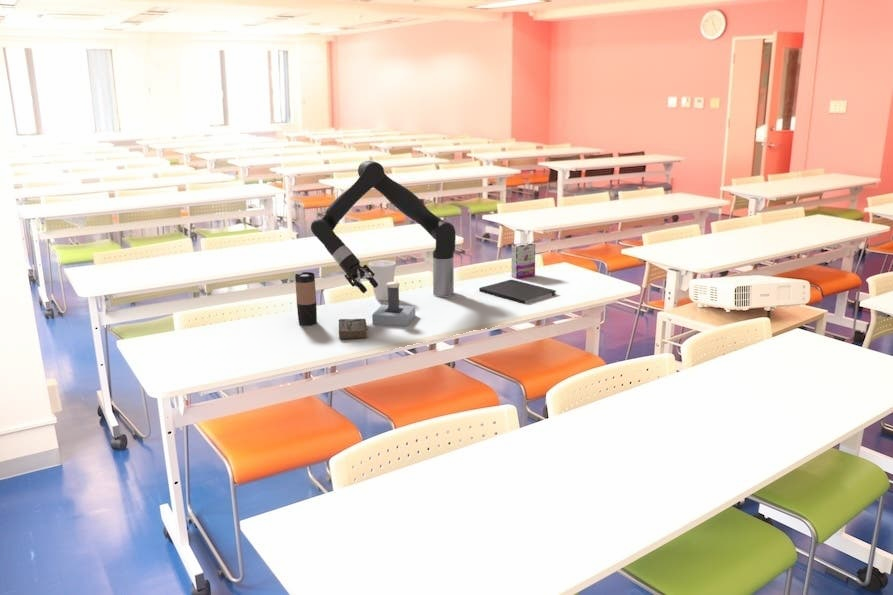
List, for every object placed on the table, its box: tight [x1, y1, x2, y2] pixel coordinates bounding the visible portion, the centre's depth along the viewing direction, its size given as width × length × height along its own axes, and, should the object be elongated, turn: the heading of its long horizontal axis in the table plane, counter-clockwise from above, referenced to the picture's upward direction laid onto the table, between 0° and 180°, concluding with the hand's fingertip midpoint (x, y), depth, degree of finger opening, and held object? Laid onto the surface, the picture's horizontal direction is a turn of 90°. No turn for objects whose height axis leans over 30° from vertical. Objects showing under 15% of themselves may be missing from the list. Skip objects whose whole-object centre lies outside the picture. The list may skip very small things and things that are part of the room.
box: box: [338, 318, 368, 340], centre depth 282 cm, size 11×17×3 cm, turn 8°
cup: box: [368, 259, 396, 301], centre depth 324 cm, size 12×12×16 cm
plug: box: [387, 281, 400, 313], centre depth 295 cm, size 5×5×15 cm
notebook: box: [478, 279, 557, 305], centre depth 333 cm, size 22×2×28 cm
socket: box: [371, 303, 416, 327], centre depth 296 cm, size 14×14×4 cm
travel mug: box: [294, 271, 318, 327], centre depth 291 cm, size 8×8×20 cm
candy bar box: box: [511, 241, 536, 280], centre depth 359 cm, size 11×5×16 cm, turn 119°
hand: (371, 289), depth 298 cm, fingers open, 8 cm apart
